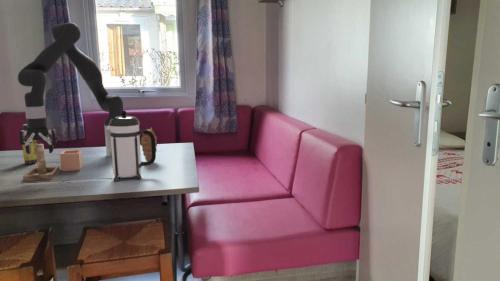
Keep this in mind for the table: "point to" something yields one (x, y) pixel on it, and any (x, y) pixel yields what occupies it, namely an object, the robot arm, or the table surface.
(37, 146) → the dowel
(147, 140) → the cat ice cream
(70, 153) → the pink open box
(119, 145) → the coffee press
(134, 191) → the table surface
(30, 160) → the sauce bottle
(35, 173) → the tray
